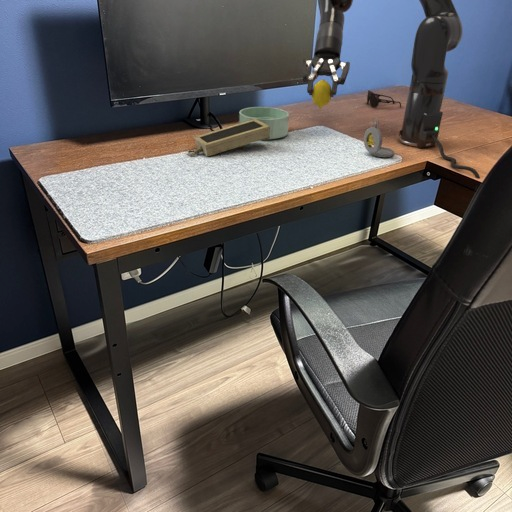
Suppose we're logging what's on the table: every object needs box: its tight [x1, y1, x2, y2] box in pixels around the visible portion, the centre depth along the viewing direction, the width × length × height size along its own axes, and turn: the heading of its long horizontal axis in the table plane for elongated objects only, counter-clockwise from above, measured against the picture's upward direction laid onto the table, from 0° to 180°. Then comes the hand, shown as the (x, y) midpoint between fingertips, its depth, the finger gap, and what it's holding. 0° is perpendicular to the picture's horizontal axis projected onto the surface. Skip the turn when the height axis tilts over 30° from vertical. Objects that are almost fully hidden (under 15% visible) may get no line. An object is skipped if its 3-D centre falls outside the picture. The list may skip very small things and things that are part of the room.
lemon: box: [311, 78, 332, 109], centre depth 139 cm, size 6×6×8 cm
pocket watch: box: [363, 117, 395, 158], centre depth 127 cm, size 8×8×10 cm
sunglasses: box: [366, 90, 402, 109], centre depth 178 cm, size 10×12×5 cm
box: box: [187, 119, 270, 157], centre depth 128 cm, size 8×22×5 cm, turn 119°
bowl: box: [238, 106, 290, 141], centre depth 141 cm, size 14×14×6 cm
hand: (321, 94), depth 137 cm, fingers closed on lemon, 5 cm apart
